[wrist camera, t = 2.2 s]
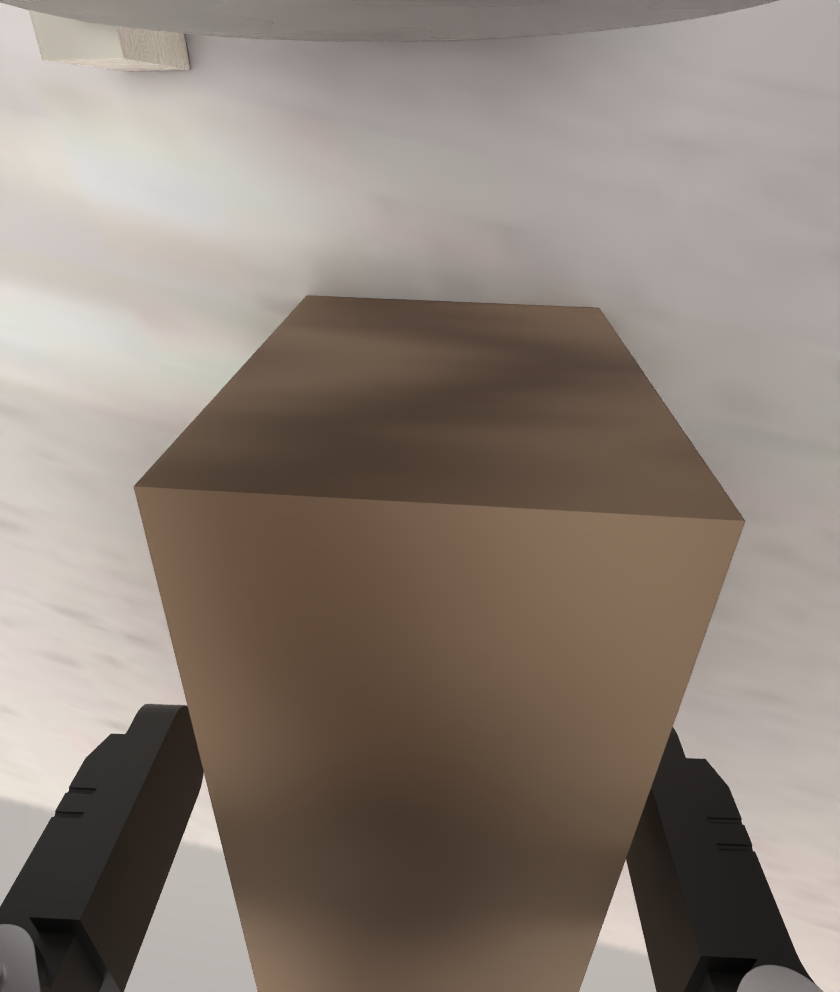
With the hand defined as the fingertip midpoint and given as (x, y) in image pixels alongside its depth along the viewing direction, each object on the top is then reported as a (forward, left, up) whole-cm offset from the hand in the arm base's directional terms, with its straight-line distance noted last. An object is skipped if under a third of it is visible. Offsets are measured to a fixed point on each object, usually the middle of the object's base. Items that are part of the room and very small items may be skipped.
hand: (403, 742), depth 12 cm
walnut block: (0, 0, -6) cm, 6 cm away
